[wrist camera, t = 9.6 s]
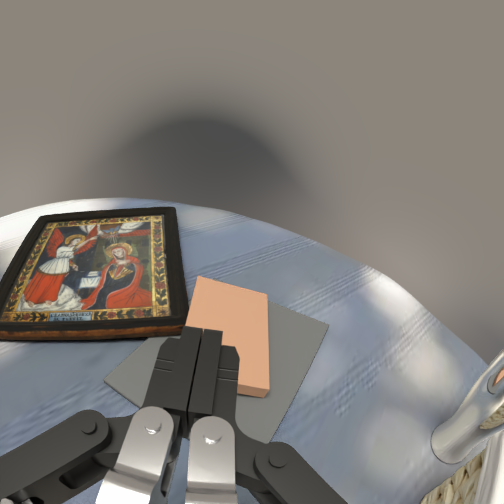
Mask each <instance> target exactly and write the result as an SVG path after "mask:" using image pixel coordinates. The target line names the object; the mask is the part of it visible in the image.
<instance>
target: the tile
mask: <svg viewBox="0 0 504 504" xmlns="http://www.w3.org/2000/svg"><path fill="white" fill-rule="evenodd" d="M185 326H190V327H197V328H203V331H204V328H205V329H212V330H219V331H223V337H222V345H227V346H235V347H236V350H237V352H238V354H239V357H240V363H239V375H238V388H237V393H239V394H244V395H250V396H256V397H261V398H264V397H265V395H266V394H267V393H268V391H269V342H268V303H267V294H264V293H260V292H256V291H252V290H248V289H245V288H241V287H237V286H233V285H230V284H226V283H222V282H219V281H215V280H211V279H208V278H204V277H201V276H198V278H197V282H196V285H195V289H194V293H193V297H192V301H191V305H190V309H189V313H188V317H187V321H186V325H185Z"/></svg>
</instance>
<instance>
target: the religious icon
mask: <svg viewBox="0 0 504 504" xmlns="http://www.w3.org/2000/svg"><path fill="white" fill-rule="evenodd" d="M188 313H189V304H188V298H187V292H186V285H185V278H184V271H183V264H182V257H181V249H180V241H179V233H178V224H177V215H176V208H175V207H151V208H132V209H115V210H99V211H85V212H72V213H62V214H52V215H44V216H40V217H39V218H38V220H37V221H36V222H35V224H34V225H33V227H32V228H31V230H30V231H29V233H28V234H27V236H26V237H25V239H24V241H23V242H22V244H21V246H20V247H19V249H18V251H17V252H16V254H15V256H14V257H13V259H12V261H11V263H10V265H9V266H8V268H7V270H6V272H5V274H4V275H3V277H2V279H1V281H0V339H9V340H91V339H117V338H136V337H152V336H169V335H181V333H182V329H183V327H184V326H185V325H186V321H187V317H188Z"/></svg>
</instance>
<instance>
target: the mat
mask: <svg viewBox="0 0 504 504" xmlns="http://www.w3.org/2000/svg"><path fill="white" fill-rule="evenodd" d="M213 280H215V281H219V280H217V279H215V278H214V279H213ZM219 282H222V281H219ZM222 283H224V282H222ZM191 301H192V299H191V300H189V301H188V304H189V309H190V305H191ZM267 303H268V342H269V391H268V393H267V394H266V395H265V397H264V398H261V397H256V396H250V395H244V394H239V393H237V400H236V412H235V420H236V423H237V426H238V428H239V429H240V430H241V431H242V432H243V433H244V434H245V435H247V436H248V437H250V438H252V439H255V440H258V441H260V442H263V443H266V444H267V443H269V442H270V441H271V439H272V437H273V435H274V434H275V432H276V430H277V428H278V426H279V425H280V423H281V421H282V419H283V417H284V416H285V414H286V412H287V410H288V408H289V406H290V404H291V402H292V401H293V399H294V397H295V395H296V393H297V391H298V389H299V387H300V385H301V383H302V381H303V379H304V377H305V375H306V373H307V371H308V369H309V367H310V365H311V363H312V361H313V359H314V357H315V355H316V353H317V351H318V348H319V346H320V344H321V342H322V340H323V338H324V336H325V333H326V331H327V329H328V327H329V324H326V323H323V322H321V321H318V320H316V319H313V318H310V317H308V316H305V315H303V314H300V313H298V312H295V311H293V310H290V309H288V308H285V307H283V306H280V305H278V304H275V303H273V302H270V301H268V300H267ZM168 337H171V338H178V339H180V337H181V335H169V336H152V337H149V338H148V339H147V340H146V341H145V342H143V343H142V344H141V345H140V346H139V347H138V348H137V349H136V350H135V351H134V352H133V353H131V354H130V355H129V356H128V357H127V358H126V359H125V360H124V361H123V362H122V363H121V364H119V365H118V366H117V367H116V368H115V369H114V370H113V371H112V372H111V373H110V374H109V375H107V376H106V377H105V378H104V379H103V380H104V383H106V384H107V385H108V386H110V387H111V388H112V389H114V390H115V391H116V392H118V393H119V394H120V395H122V396H123V397H124V398H126V399H127V400H128V401H130V402H131V403H133V404H134V405H135V406H137V407H138V408H141V406H142V405H143V402H144V399H145V396H146V392H147V389H148V385H149V382H150V378H151V375H152V372H153V369H154V365H155V362H156V360H157V355H158V352H159V348H160V346H161V345H162V344H163V343H164V342H165V340H166V339H167V338H168ZM186 439H188V440H190V432H189V438H186Z"/></svg>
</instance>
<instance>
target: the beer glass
mask: <svg viewBox="0 0 504 504" xmlns="http://www.w3.org/2000/svg"><path fill="white" fill-rule="evenodd" d="M503 429H504V349H503V350H502V351H501V352H500V353H499V354H498V355H497V357H496V358H495V359H494V360H493V361H492V362H491V363H490V365H489V366H488V367H487V368H486V369H485V370H484V372H483V373H482V374H481V375H480V377H479V378H478V379H477V381H476V382H475V384H474V385H473V387H472V388H471V390H470V391H469V393H468V395H467V396H466V398H465V399H464V401H463V403H462V404H461V406H460V407H459V409H458V410H457V412H456V413H455V414H454V415H453V416H452V417H451V418H450V419H449V420H447V421H445V422H444V423H442V424H440V425H439V426H438V427H437V428H436V429H435V430H434V432H433V434H432V437H431V445H432V449H433V452H434V453H435V455H436V456H437V457H438V458H439V459H440V460H441V461H443V462H445V463H448V464H455V463H458V462H460V461H462V460H463V459H464V458H465V457H466V456H467V455H468V454H469V453H470V451H471V450H472V449H473V448H474V447H475V446H476V445H478V444H479V443H481V442H482V441H484V440H486V439H487V438H489V437H491V436H493V435H494V434H496V433H497V432H499V431H501V430H503Z"/></svg>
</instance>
